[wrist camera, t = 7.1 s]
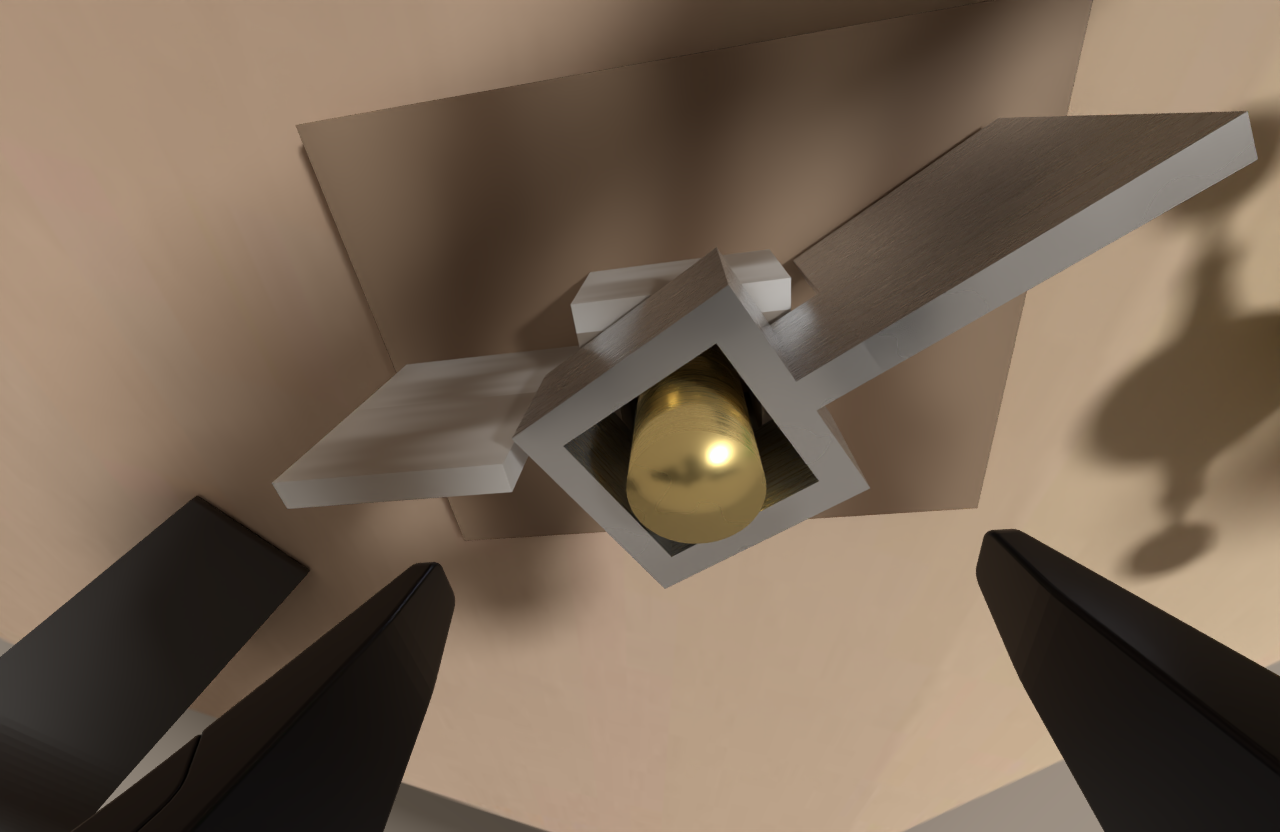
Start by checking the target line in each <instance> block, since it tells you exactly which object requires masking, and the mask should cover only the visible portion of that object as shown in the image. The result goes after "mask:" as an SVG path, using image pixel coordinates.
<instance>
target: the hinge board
mask: <svg viewBox="0 0 1280 832" xmlns="http://www.w3.org/2000/svg"><path fill="white" fill-rule="evenodd" d="M1092 3H1093V0H991V1H986V2H980V3H975V4H969V5H963V6H958V7H952V8H947V9H941V10H935V11H930V12H924V13H919V14H913V15H908V16H902V17H896V18H891V19H885V20H880V21H874V22H868V23H863V24H857V25H852V26H846V27H841V28H835V29H829V30H824V31H818V32H813V33H807V34H801V35H796V36H790V37H785V38H779V39H774V40H768V41H762V42H757V43H751V44H746V45H740V46H735V47H729V48H723V49H718V50H712V51H707V52H701V53H695V54H690V55H684V56H679V57H673V58H668V59H662V60H656V61H651V62H645V63H640V64H634V65H628V66H623V67H617V68H612V69H606V70H601V71H595V72H589V73H584V74H578V75H573V76H567V77H561V78H556V79H550V80H545V81H539V82H534V83H528V84H522V85H517V86H511V87H506V88H500V89H494V90H489V91H483V92H478V93H472V94H467V95H461V96H455V97H450V98H444V99H439V100H433V101H427V102H422V103H416V104H411V105H405V106H400V107H394V108H388V109H383V110H377V111H372V112H366V113H360V114H355V115H349V116H344V117H338V118H333V119H327V120H321V121H316V122H310V123H305V124H299V125H296V128H297V130H298V133H299V135H300V138H301V140H302V142H303V145H304V147H305V150H306V152H307V155H308V157H309V160H310V162H311V165H312V167H313V169H314V172H315V174H316V177H317V179H318V182H319V184H320V187H321V189H322V192H323V194H324V196H325V199H326V201H327V204H328V206H329V209H330V211H331V214H332V216H333V219H334V221H335V223H336V226H337V228H338V231H339V233H340V236H341V238H342V241H343V243H344V245H345V248H346V250H347V253H348V255H349V258H350V260H351V263H352V265H353V268H354V270H355V272H356V275H357V277H358V280H359V282H360V285H361V287H362V290H363V292H364V295H365V297H366V299H367V302H368V304H369V307H370V309H371V312H372V314H373V317H374V319H375V322H376V324H377V326H378V329H379V331H380V334H381V336H382V339H383V341H384V344H385V346H386V348H387V351H388V353H389V356H390V358H391V361H392V363H393V366H394V368H395V371H396V374H395V375H394V376H393V377H392V378H391V379H390V380H388V381H387V382H386V383H385V384H384V385H383V386H382V387H380V388H379V389H378V390H377V391H376V392H375V393H374V394H372V395H371V396H370V397H369V398H368V399H367V400H366V401H364V402H363V403H362V404H361V405H360V406H359V407H358V408H356V409H355V410H354V411H353V412H352V413H351V414H350V415H348V416H347V417H346V418H345V419H344V420H343V421H342V422H340V423H339V424H338V425H337V426H336V427H335V428H334V429H332V430H331V431H330V432H329V433H328V434H327V435H326V436H325V437H323V438H322V439H321V440H320V441H319V442H318V443H317V444H315V445H314V446H313V447H312V448H311V449H310V450H309V451H307V452H306V453H305V454H304V455H303V456H302V457H301V458H299V459H298V460H297V461H296V462H295V463H294V464H293V465H291V466H290V467H289V468H288V469H287V470H286V471H285V472H283V473H282V474H281V475H280V476H279V477H278V478H277V479H275V480H274V481H273V482H272V484H273V486H274V488H275V489H276V491H277V493H278V494H279V496H280V498H281V499H282V501H283V503H284V504H285V506H286V508H287V509H293V508H306V507H320V506H333V505H346V504H359V503H373V502H386V501H399V500H413V499H426V498H439V497H447V498H448V501H449V503H450V505H451V508H452V510H453V513H454V515H455V518H456V520H457V523H458V525H459V528H460V530H461V532H462V535H463V537H464V540H465V541H469V540H485V539H500V538H516V537H532V536H548V535H563V534H579V533H595V532H606V531H605V530H604V529H603V528H602V527H601V526H600V525H599V524H598V523H597V522H596V521H595V520H594V519H593V518H592V517H591V516H590V515H589V514H588V513H587V512H586V511H585V510H584V509H583V508H582V507H581V506H580V505H579V504H578V503H577V502H576V501H575V500H574V499H573V498H571V497H570V496H569V495H568V494H567V493H566V492H565V491H564V490H563V489H562V488H561V487H560V486H559V485H558V484H557V483H556V482H555V481H554V480H553V479H552V478H551V477H550V476H549V475H548V474H547V473H546V472H545V471H544V470H543V469H542V468H541V467H540V466H539V465H538V464H537V463H536V462H535V461H534V460H533V459H532V458H531V457H530V456H529V455H527V454H526V453H525V452H524V451H523V450H522V449H521V448H520V447H519V446H518V445H517V444H516V443H515V442H514V441H513V440H512V437H513V435H514V433H515V432H516V430H517V428H518V426H519V424H520V422H521V420H522V418H523V417H524V415H525V413H526V411H527V409H528V407H529V405H530V403H531V402H532V400H533V398H534V396H535V394H536V392H537V390H538V388H539V386H540V385H541V383H542V381H543V379H544V377H545V375H546V374H548V373H549V372H550V371H552V370H553V369H554V368H556V367H557V366H558V365H560V364H561V363H562V362H564V361H565V360H566V359H568V358H569V357H570V356H572V355H573V354H574V353H576V352H577V351H578V350H580V349H581V348H582V347H584V346H585V345H586V344H588V343H589V342H590V341H592V340H593V339H594V338H596V337H597V336H598V335H600V334H601V333H602V332H604V331H605V330H606V329H608V328H609V327H611V326H612V325H613V324H615V323H616V322H617V321H619V320H620V319H621V318H623V317H624V316H625V315H627V314H628V313H629V312H631V311H632V310H633V309H635V308H636V307H637V306H639V305H640V304H641V303H643V302H644V301H645V300H647V299H648V298H649V297H651V296H652V295H653V294H655V293H656V292H657V291H659V290H660V289H661V288H663V287H664V286H665V285H667V284H668V283H669V282H671V281H672V280H673V279H675V278H676V277H677V276H679V275H680V274H681V273H683V272H684V271H685V270H687V269H688V268H689V267H691V266H692V265H693V264H695V263H696V262H697V261H699V260H700V259H701V258H703V257H704V256H705V255H707V254H708V253H709V252H711V251H712V250H713V249H715V248H716V247H717V249H718V250H719V252H720V253H721V254H722V256H723V257H724V259H725V260H726V262H727V263H728V265H729V266H730V268H731V269H732V271H733V272H734V273H735V275H736V276H737V278H738V279H739V281H740V282H741V284H742V285H743V287H744V288H745V290H746V291H747V292H748V294H749V295H750V297H751V298H752V300H753V301H754V303H755V304H756V306H757V307H758V308H759V310H760V311H761V313H762V314H763V316H764V317H765V319H766V320H767V322H768V323H769V325H771V324H772V323H774V322H775V321H777V320H779V319H780V318H782V317H783V316H785V315H786V314H788V313H789V312H791V311H792V310H794V309H795V308H797V307H798V306H800V305H801V304H803V303H804V302H806V301H807V300H809V299H811V298H812V297H814V296H815V295H817V294H816V293H815V292H814V290H813V289H812V288H811V287H810V286H809V284H808V283H807V282H806V280H805V279H804V277H803V276H802V274H801V272H800V271H799V269H798V268H797V266H796V265H795V263H794V261H793V260H794V259H796V258H797V257H798V256H800V255H801V254H803V253H804V252H806V251H807V250H809V249H810V248H811V247H813V246H814V245H816V244H817V243H819V242H820V241H822V240H823V239H824V238H826V237H827V236H829V235H830V234H832V233H833V232H834V231H836V230H837V229H839V228H840V227H842V226H843V225H845V224H846V223H847V222H849V221H850V220H852V219H853V218H855V217H856V216H858V215H859V214H860V213H862V212H863V211H865V210H866V209H868V208H869V207H870V206H872V205H873V204H875V203H876V202H878V201H879V200H881V199H882V198H883V197H885V196H886V195H888V194H889V193H891V192H892V191H894V190H895V189H896V188H898V187H899V186H901V185H902V184H904V183H905V182H907V181H908V180H909V179H911V178H912V177H914V176H915V175H917V174H918V173H919V172H921V171H922V170H924V169H925V168H927V167H928V166H930V165H931V164H932V163H934V162H935V161H937V160H938V159H940V158H941V157H943V156H944V155H945V154H947V153H948V152H950V151H951V150H953V149H954V148H956V147H957V146H958V145H960V144H961V143H963V142H964V141H966V140H967V139H968V138H970V137H971V136H973V135H974V134H976V133H977V132H979V131H980V130H981V129H983V128H984V127H986V126H987V125H989V124H990V123H992V122H993V121H994V120H996V119H997V118H1014V117H1051V116H1067V112H1068V108H1069V104H1070V99H1071V95H1072V90H1073V86H1074V82H1075V77H1076V73H1077V68H1078V64H1079V60H1080V55H1081V51H1082V47H1083V42H1084V38H1085V33H1086V29H1087V25H1088V20H1089V16H1090V11H1091V7H1092ZM1026 292H1027V291H1026ZM1026 292H1024V293H1022V294H1020V295H1019V296H1017V297H1015V298H1013V299H1012V300H1010V301H1008V302H1006V303H1005V304H1003V305H1001V306H999V307H998V308H996V309H994V310H992V311H990V312H989V313H987V314H985V315H983V316H982V317H980V318H978V319H976V320H975V321H973V322H971V323H969V324H968V325H966V326H964V327H962V328H961V329H959V330H957V331H955V332H954V333H952V334H950V335H948V336H947V337H945V338H943V339H941V340H939V341H938V342H936V343H934V344H932V345H931V346H929V347H927V348H925V349H924V350H922V351H920V352H918V353H917V354H915V355H913V356H911V357H910V358H908V359H906V360H904V361H903V362H901V363H899V364H897V365H896V366H894V367H892V368H890V369H888V370H887V371H885V372H883V373H881V374H880V375H878V376H876V377H874V378H873V379H871V380H869V381H867V382H866V383H864V384H862V385H860V386H859V387H857V388H855V389H853V390H852V391H850V392H848V393H846V394H845V395H843V396H841V397H839V398H837V399H836V400H834V401H832V402H830V403H829V404H827V405H825V406H826V408H827V409H828V411H829V412H830V414H831V415H832V417H833V419H834V421H835V423H836V425H837V427H838V428H839V430H840V432H841V434H842V436H843V438H844V440H845V442H846V444H847V445H848V447H849V449H850V451H851V453H852V455H853V457H854V459H855V460H856V462H857V464H858V466H859V468H860V470H861V472H862V474H863V475H864V477H865V479H866V481H867V483H868V485H869V487H870V489H868V490H866V491H864V492H862V493H860V494H858V495H855V496H853V497H851V498H849V499H847V500H845V501H843V502H841V503H839V504H837V505H835V506H833V507H831V508H829V509H827V510H825V511H823V512H821V513H819V514H817V515H815V516H813V517H811V518H809V519H815V518H830V517H846V516H862V515H877V514H893V513H909V512H925V511H940V510H956V509H972V508H978V503H979V499H980V494H981V490H982V486H983V481H984V477H985V472H986V468H987V464H988V459H989V455H990V450H991V446H992V442H993V437H994V433H995V429H996V424H997V420H998V415H999V411H1000V407H1001V402H1002V398H1003V393H1004V389H1005V385H1006V380H1007V376H1008V371H1009V367H1010V363H1011V358H1012V354H1013V349H1014V345H1015V341H1016V336H1017V332H1018V328H1019V323H1020V319H1021V314H1022V310H1023V306H1024V301H1025V297H1026ZM738 374H739V373H738ZM739 378H740V382H741V386H742V390H743V394H744V397H745V401H746V405H747V409H748V413H749V417H750V421H751V424H752V428H753V430H755V429H756V428H758V427H760V426H762V425H763V424H765V423H767V422H769V421H770V420H772V417H771V416H770V415H769V413H768V412H767V411H766V409H765V408H764V407H763V405H762V404H761V402H760V401H759V400H758V398H757V397H756V396H755V394H754V393H753V392H752V390H751V389H750V388H749V386H748V385H747V384H746V382H745V381H744V380H743V378H742V377H741V376H740V374H739ZM638 396H639V395H638ZM638 396H637V397H635V398H634V399H632V400H631V401H629V402H628V403H626V404H625V405H623V406H622V407H620V408H619V409H617V410H616V411H614V412H615V413H616V414H617V415H618V416H619V418H620V419H621V420H622V421H623V422H624V423H625V424H626V425H627V427H628V428H629V429H630V430H631V431H632V432H634V425H635V418H636V410H637V403H638Z"/></svg>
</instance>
